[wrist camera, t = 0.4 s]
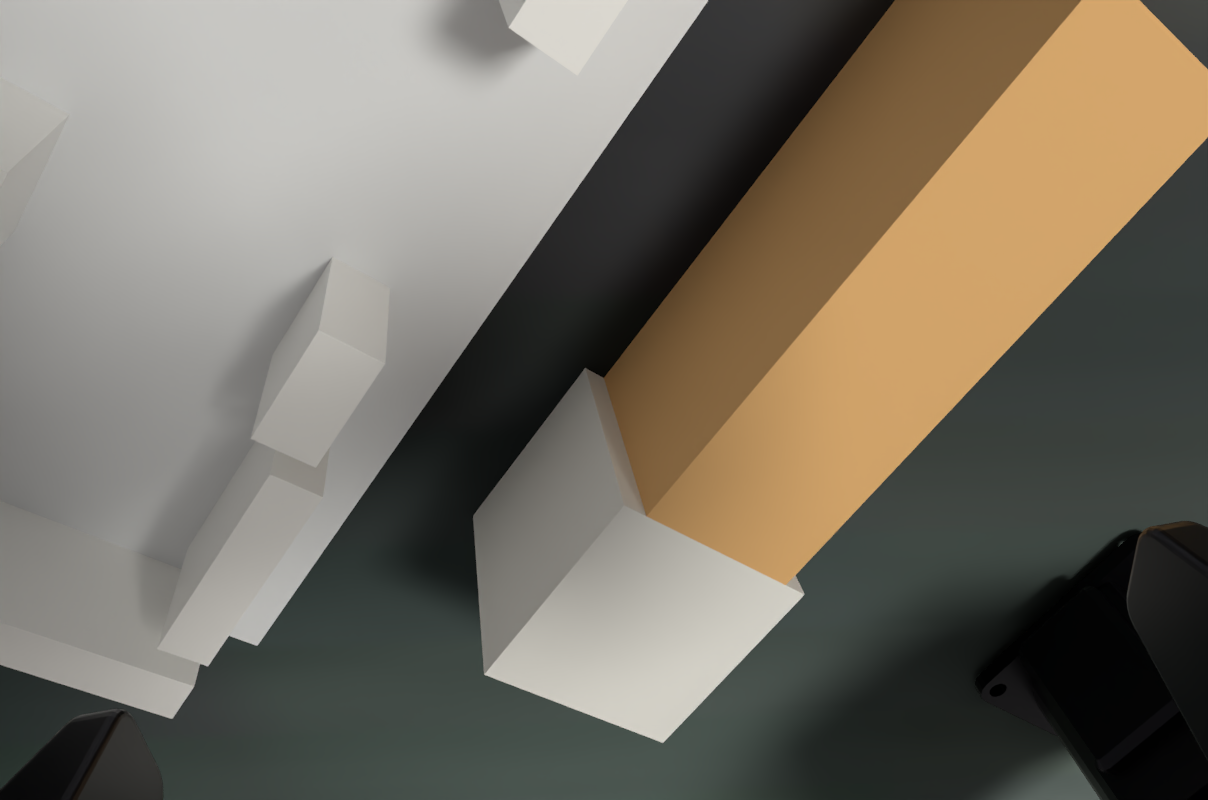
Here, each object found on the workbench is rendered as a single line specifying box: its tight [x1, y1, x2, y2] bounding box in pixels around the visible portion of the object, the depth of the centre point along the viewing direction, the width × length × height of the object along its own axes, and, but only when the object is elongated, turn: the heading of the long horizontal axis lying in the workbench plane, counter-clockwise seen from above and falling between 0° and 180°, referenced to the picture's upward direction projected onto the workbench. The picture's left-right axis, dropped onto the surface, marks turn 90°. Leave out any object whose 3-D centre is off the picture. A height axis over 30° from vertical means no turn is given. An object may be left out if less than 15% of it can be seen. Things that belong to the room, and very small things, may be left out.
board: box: [0, 0, 708, 719], centre depth 17 cm, size 11×20×4 cm, turn 144°
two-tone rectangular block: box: [473, 0, 1208, 743], centre depth 20 cm, size 4×16×5 cm, turn 144°
